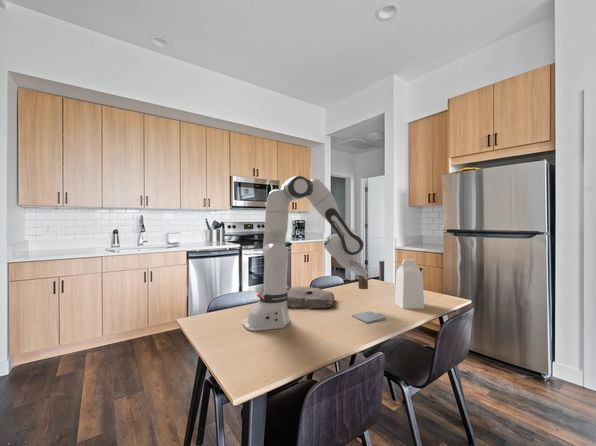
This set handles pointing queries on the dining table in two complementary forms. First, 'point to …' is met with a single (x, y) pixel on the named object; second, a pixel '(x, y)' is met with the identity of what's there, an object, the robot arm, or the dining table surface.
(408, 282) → the milk
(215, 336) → the dining table surface
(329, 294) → the stone slab
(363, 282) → the roller
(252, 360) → the dining table surface
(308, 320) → the dining table surface
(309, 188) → the robot arm
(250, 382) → the dining table surface
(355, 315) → the mat
